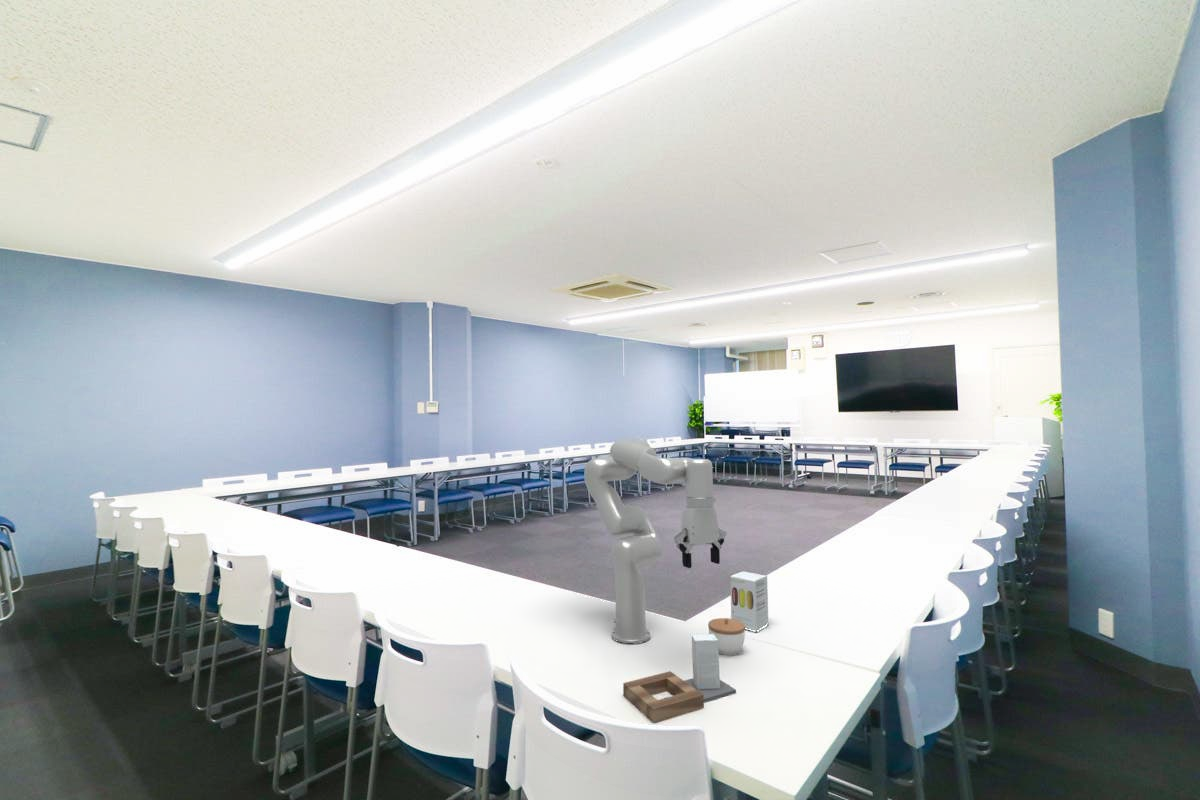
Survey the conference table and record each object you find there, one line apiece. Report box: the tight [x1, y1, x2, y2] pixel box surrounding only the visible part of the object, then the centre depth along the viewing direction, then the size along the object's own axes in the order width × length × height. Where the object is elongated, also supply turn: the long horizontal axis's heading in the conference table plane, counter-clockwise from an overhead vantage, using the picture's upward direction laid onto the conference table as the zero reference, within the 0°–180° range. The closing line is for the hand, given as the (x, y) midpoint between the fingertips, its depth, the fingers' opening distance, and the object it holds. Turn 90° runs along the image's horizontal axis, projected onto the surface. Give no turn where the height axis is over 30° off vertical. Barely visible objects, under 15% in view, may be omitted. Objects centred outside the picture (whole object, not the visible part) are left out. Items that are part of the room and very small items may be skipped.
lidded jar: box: [707, 617, 746, 656], centre depth 154 cm, size 11×11×9 cm
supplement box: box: [730, 570, 769, 631], centre depth 174 cm, size 10×9×17 cm
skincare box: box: [691, 633, 721, 690], centre depth 131 cm, size 6×4×12 cm
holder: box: [622, 670, 705, 724], centre depth 125 cm, size 14×14×3 cm
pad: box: [683, 677, 737, 703], centre depth 130 cm, size 10×10×1 cm
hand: (701, 564), depth 143 cm, fingers open, 9 cm apart
